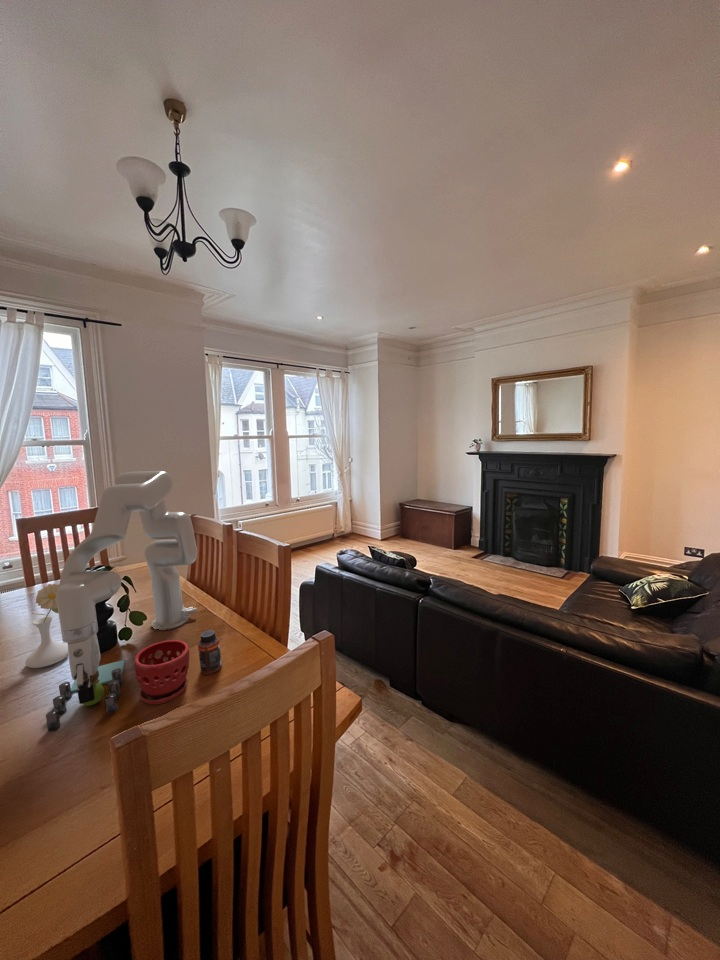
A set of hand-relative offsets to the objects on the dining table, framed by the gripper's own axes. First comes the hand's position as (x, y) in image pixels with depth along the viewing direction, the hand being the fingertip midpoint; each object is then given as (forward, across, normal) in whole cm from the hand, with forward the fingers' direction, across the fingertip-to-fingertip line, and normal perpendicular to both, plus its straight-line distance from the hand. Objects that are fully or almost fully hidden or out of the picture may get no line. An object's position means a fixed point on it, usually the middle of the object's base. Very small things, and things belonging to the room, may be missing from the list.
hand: (89, 693), depth 101 cm
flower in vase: (+3, +31, +15) cm, 35 cm away
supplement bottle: (+3, 0, -30) cm, 30 cm away
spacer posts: (+3, 0, 0) cm, 3 cm away
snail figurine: (+3, 0, 0) cm, 3 cm away
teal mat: (+3, +13, 0) cm, 13 cm away
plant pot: (+3, -5, -18) cm, 19 cm away
